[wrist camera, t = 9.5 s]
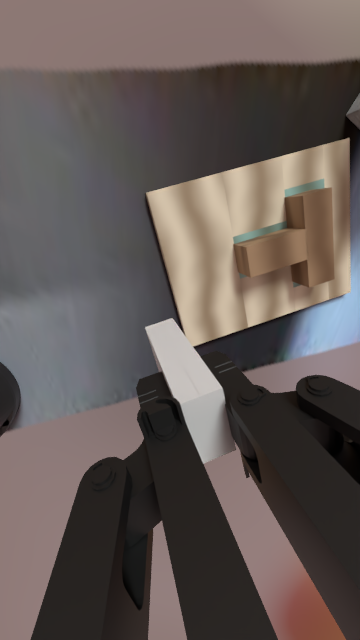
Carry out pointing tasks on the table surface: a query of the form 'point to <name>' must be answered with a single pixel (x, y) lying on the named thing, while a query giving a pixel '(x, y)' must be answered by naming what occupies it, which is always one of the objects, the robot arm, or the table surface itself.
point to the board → (240, 225)
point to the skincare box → (355, 112)
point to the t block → (295, 242)
